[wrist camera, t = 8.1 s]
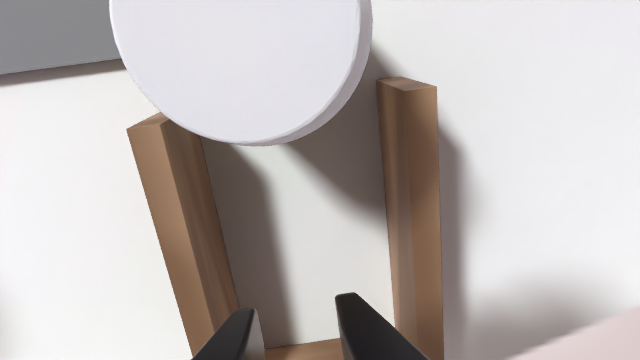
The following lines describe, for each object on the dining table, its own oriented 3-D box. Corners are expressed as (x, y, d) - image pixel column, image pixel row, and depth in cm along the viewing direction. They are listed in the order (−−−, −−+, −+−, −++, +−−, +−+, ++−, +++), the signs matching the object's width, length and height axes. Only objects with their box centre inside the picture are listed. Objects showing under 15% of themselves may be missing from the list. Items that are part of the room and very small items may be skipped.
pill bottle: (192, -47, 17) (10, -219, 6) (341, -40, 17) (428, -188, 6) (202, 105, 19) (82, 186, 8) (335, 107, 19) (394, 186, 9)
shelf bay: (400, 76, 19) (436, 86, 14) (415, 342, 25) (445, 412, 20) (167, 108, 19) (126, 128, 14) (233, 370, 24) (219, 449, 19)
